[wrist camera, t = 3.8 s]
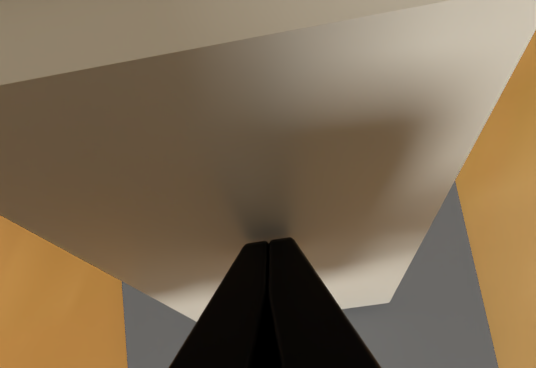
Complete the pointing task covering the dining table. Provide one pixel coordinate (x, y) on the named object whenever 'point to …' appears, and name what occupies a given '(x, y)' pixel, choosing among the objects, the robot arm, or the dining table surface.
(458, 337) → the mat
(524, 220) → the dining table surface
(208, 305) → the robot arm
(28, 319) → the dining table surface
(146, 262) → the domino
